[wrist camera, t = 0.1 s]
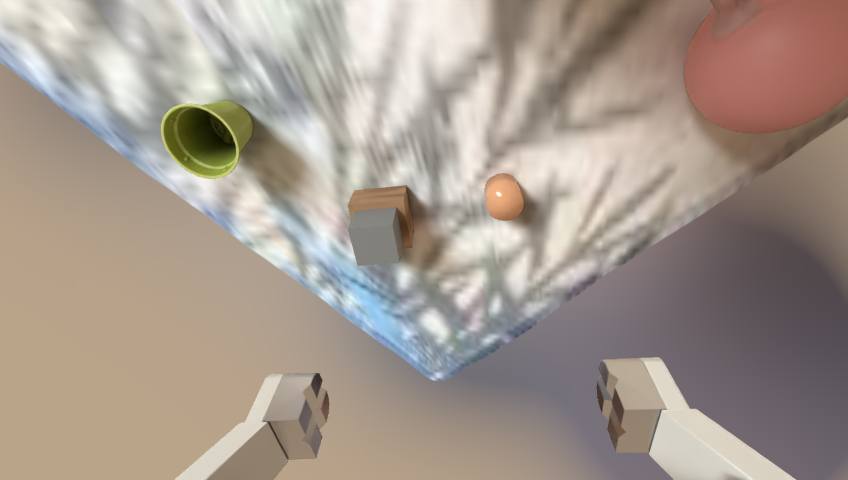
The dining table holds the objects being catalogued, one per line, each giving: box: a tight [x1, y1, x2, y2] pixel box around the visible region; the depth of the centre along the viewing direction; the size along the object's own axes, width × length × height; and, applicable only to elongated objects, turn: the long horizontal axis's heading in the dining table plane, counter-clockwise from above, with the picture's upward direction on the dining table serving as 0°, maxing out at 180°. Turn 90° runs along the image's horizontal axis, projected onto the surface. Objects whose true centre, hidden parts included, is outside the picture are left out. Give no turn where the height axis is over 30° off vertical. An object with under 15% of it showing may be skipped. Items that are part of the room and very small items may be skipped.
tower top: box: [348, 207, 403, 266], centre depth 58 cm, size 6×6×5 cm
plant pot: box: [161, 100, 253, 179], centre depth 54 cm, size 9×9×9 cm
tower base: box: [348, 185, 414, 248], centre depth 62 cm, size 8×8×5 cm
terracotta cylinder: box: [485, 173, 524, 221], centre depth 59 cm, size 5×5×5 cm
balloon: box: [684, 0, 848, 133], centre depth 42 cm, size 15×20×15 cm
